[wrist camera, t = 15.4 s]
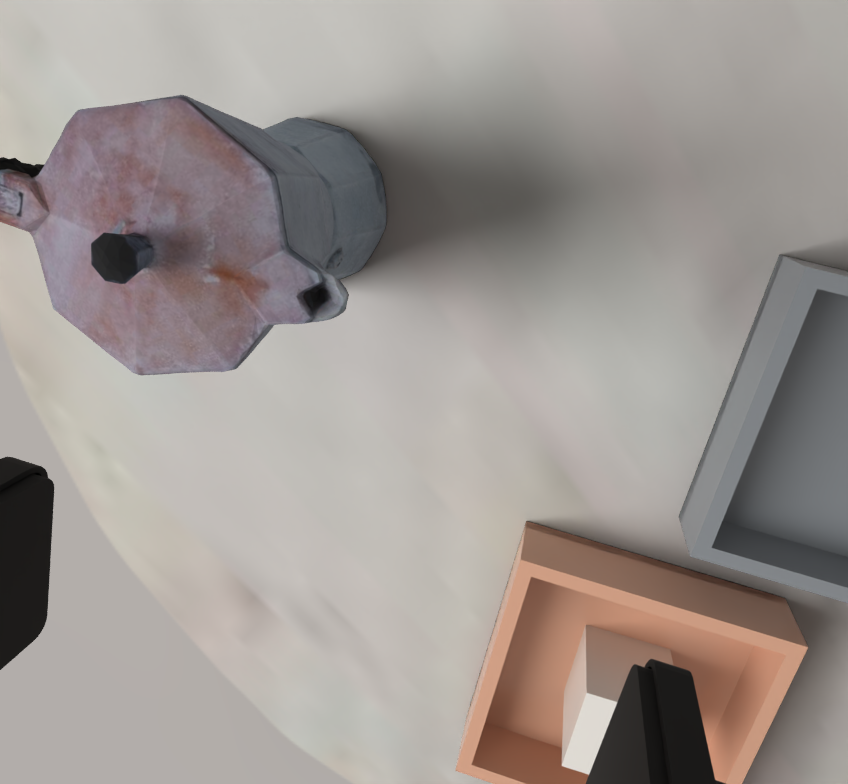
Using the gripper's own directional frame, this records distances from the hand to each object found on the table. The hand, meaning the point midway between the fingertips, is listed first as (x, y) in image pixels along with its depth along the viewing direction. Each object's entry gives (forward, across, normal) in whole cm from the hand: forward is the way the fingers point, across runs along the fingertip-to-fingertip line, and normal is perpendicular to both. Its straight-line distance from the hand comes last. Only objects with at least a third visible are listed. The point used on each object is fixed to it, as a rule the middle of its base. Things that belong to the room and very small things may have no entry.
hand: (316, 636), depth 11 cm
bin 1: (+30, -12, +20) cm, 38 cm away
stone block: (+30, -12, +20) cm, 38 cm away
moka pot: (+31, +12, -2) cm, 33 cm away
